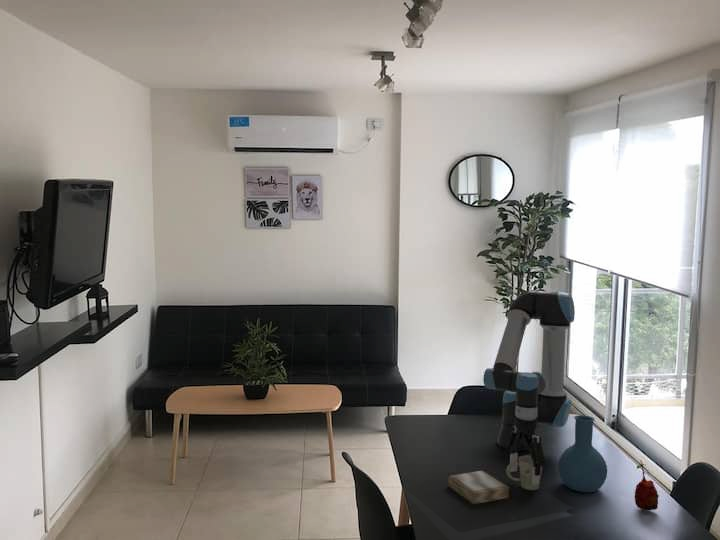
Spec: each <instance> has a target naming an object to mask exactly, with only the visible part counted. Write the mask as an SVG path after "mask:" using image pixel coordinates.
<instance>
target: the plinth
mask: <svg viewBox="0 0 720 540" xmlns="http://www.w3.org/2000/svg"><path fill="white" fill-rule="evenodd" d="M448 487H449V488H450V489H452V491H455V492H456V493H457V494H459V495H460V496H461V497H463V498H464V499H466V501H468V502H470V503H471V504H472V505H476V504H482V503H488V502H492V501H498V500H502V499H503V500H504V499H509V498H510V497H509V496H510V495H509V494H510V491H509V489H510V487H509V486H508V485H507V484H505V483H503V482H501V481H500V480H498V479H496V478H495V477H493V476H491V475H490V474H488V473H487V472H485V471H483V470H477V471H473V472H472V471H471V472H465V473H459V474H452V475H449V476H448Z"/></svg>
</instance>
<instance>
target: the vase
mask: <svg viewBox="0 0 720 540" xmlns="http://www.w3.org/2000/svg"><path fill="white" fill-rule="evenodd" d="M573 418H574V421H575V424H574V425H575V426H574V429H575V430H574V443H573V444H572V445H571V446H569V447H567V448H566V449H565V450H564V451H563V452H562V453H561V456H560V457H559V460H558V462H557V469H558V474H559V476H560V478H561V480H562V482H563V484H564V485H565V486H567V488H569V489H570V490H572V491H575V492H580V493H593V492H596V491H598V490H600V489H601V488H602V486H603V485H604V483H605V482H606V479H607V476H608V466H607V463H606V460H605V459H604V456H603V455H602V454H601V453H600V452H599V451H598V449H596V448H595V447H593V444H592V443H593V433H594V431H593V430H594V421H595V419H596V418H594V417H593V416H590V415H583V414H581V415H579V414H578V415H575V416H573Z"/></svg>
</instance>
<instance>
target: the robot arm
mask: <svg viewBox="0 0 720 540" xmlns="http://www.w3.org/2000/svg"><path fill="white" fill-rule="evenodd" d="M575 310H576V309H575V303H574V298H573V297H572V294H570V293H568V292H564V291H563V292H562V291H550V290H549V291H547V290H544V291H543V290H529V291H526V292H524V293H522V294H520V295H519V296H518V297H517V298H515V299H514V301H512V303H511V304H510V306H509V308H508V310H507V313H506V319H507V321H506V325H505V328H504V332H503V335H502V338H501V341H500V345H499V347H498V350H497V353H496V357H495V361H494V363H493V367H491V368H490V367H489V368H486V369H485V370H484V372H483V378H482V379H483V381H482V382H483V385H484V387H485V388H487V389H489V390H493V391H494V390H495V391H504V393H503V398H502V402H501V403H502V416H501V417H502V424H501V427H500V431H499V434H498V436H497V445H498V446H499V447H500V448H503V449H506V450H507V451H508V453H509V464H510V463H512V462H519V456H518V451H519V452H520V451H522V452H523V451H529V455H531V458H532V461H533V464H534V465H533V466H532V484H533V485H534V484H539V479H540V480H541V478H540V472H541V466H542V467H546V460H545V456H544V451H543V446H542V437H541V436H540V435H538V436H536V435H535V434H536V433H535V431H536V430H537V428H538V424H539V425H543V426H549V427H558V428H563V427H565V425H566V424H567V422H568V419H569V417H570V411H571V407H572V406H571V405H572V400H571V399H570V398H568V397H567V395H568V394H567V392H566V391H565V390H564V372H565V371H564V369H565V351H566V347H565V346H566V330H567V329H568V328H570V326H571V324H570V323H574V322H575V313H576V311H575ZM532 320H539V326H540V327H542V330H543V331H542V351H541V352H542V353H541V372H539V371H533V372H525V371H524V372H520V371H516V370H515V366H516V363H517V359H518V356H519V352H520V349H521V345H522V342H523V339H524V336H525V332H526V328H527V326H528V325H529V324H530V323H531V321H532ZM514 370H515V371H514ZM536 462H537V463H536ZM517 471H518V466H512V467H511V468H510V473H513V472H517ZM541 473H542V472H541ZM539 485H540V484H539Z"/></svg>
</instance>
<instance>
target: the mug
mask: <svg viewBox="0 0 720 540" xmlns="http://www.w3.org/2000/svg"><path fill="white" fill-rule="evenodd" d="M536 463H537V462H536ZM533 465H534V464H533V461H532V458H531V455H530V454H527V455H521V456H518V461H517V462H512V463H510V462H509V464H508V465H507V467H506V469H505V471H506V472H505V473H506V475H507V476H508V478H509V479H510V480H512V481H516V482H519V481H520V486H521V488H522V489H525V490H527V491H528V490H529V491H536V490H539V488H540V483H541V478H542V477H541V476H542V473H543V472H542V471H543V466H541V472H540V479H539V484H534V485H533V484H532V466H533ZM512 466H517V467H519V475H520V476H519V477H520V478H518V477H514V476H512V474H511V472H510V468H511V467H512Z"/></svg>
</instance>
